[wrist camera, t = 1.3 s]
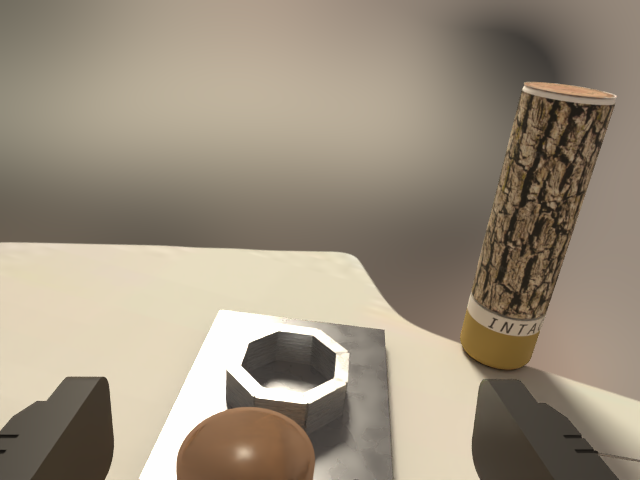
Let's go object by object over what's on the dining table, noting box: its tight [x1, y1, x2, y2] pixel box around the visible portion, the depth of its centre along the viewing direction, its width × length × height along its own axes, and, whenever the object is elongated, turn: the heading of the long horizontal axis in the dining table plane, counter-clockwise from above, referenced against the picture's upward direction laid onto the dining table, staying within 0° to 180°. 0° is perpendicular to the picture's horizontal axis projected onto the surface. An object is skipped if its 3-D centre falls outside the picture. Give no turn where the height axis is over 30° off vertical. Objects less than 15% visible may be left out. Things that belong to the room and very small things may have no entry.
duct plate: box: [139, 310, 393, 480], centre depth 40 cm, size 16×20×4 cm
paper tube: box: [460, 82, 617, 370], centre depth 45 cm, size 7×7×25 cm
